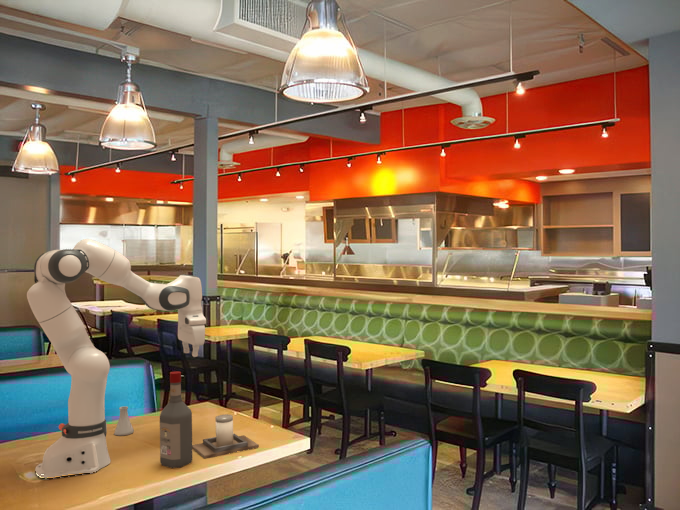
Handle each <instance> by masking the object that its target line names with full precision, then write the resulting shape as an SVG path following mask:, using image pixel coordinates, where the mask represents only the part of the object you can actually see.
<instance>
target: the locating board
mask: <svg viewBox="0 0 680 510" xmlns="http://www.w3.org/2000/svg"><path fill="white" fill-rule="evenodd" d="M233 442H234V444H231V445H226V446H221V447H217V446H216V436H213V437H207V438H203V439H202V443H201V442H200V443H197V444H192V451H195V452H196V453H197V455H200V457H202V458H203V459H205V460H206V459H210V458H214V457H221V456H224V455H225V456H226V455H229V453H230V454H234V453H233V452H235V453H238V452H237V451H240V452H244V451H243V450H245V451H248V449H249V450H253V448H254V449H258V447H259V444H258V443H257V442H255V441H254V440H252V439H250V438H249V437H247V436H246V435H238V434H237V433H233Z"/></svg>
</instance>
